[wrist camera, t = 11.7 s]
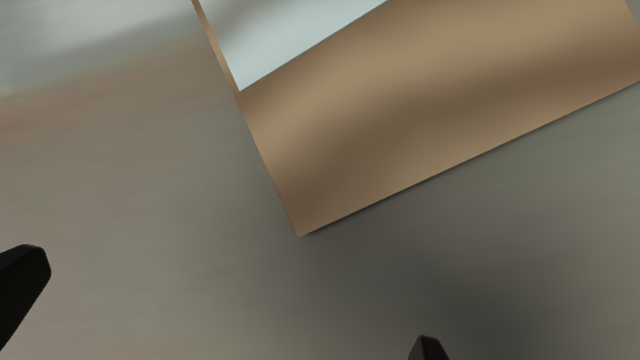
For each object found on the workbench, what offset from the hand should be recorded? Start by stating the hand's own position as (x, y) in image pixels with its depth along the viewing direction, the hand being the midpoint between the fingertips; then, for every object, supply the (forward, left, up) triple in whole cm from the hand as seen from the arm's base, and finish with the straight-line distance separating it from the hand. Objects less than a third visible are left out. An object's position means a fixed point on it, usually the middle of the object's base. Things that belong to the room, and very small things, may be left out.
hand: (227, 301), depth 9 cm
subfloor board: (+9, -6, -13) cm, 17 cm away
